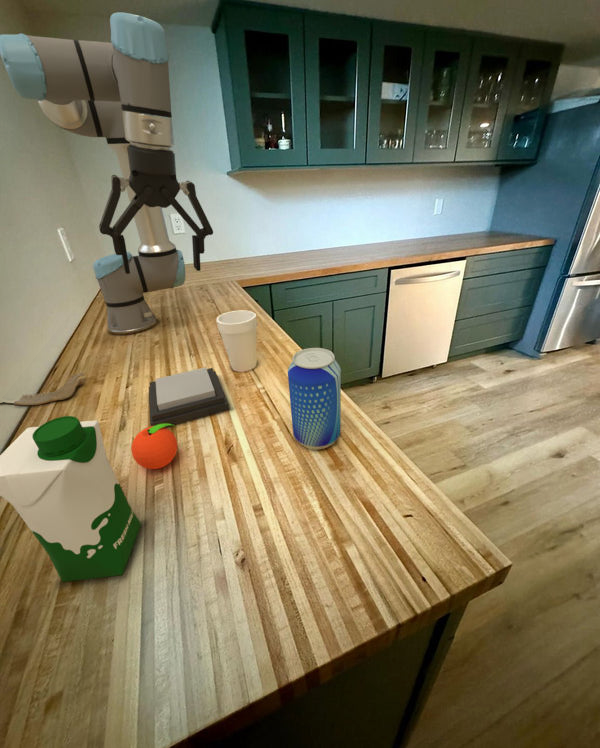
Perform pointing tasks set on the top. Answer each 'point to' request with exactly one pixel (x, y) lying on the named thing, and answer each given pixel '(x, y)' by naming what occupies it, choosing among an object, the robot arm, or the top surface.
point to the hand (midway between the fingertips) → (163, 270)
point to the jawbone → (52, 393)
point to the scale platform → (183, 388)
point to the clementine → (154, 446)
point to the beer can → (315, 397)
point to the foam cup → (239, 338)
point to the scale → (188, 405)
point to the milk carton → (70, 498)
